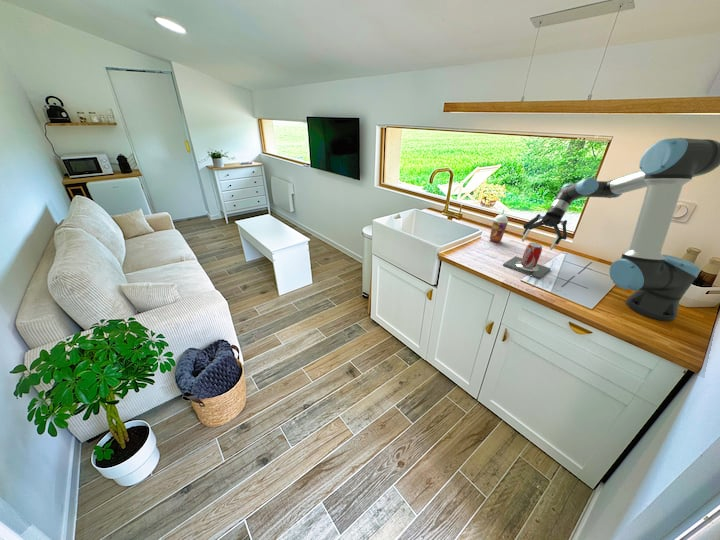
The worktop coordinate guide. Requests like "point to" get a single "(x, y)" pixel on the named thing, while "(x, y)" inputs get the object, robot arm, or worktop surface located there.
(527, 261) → the soda can
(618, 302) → the worktop surface
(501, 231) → the smoothie
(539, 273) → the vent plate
